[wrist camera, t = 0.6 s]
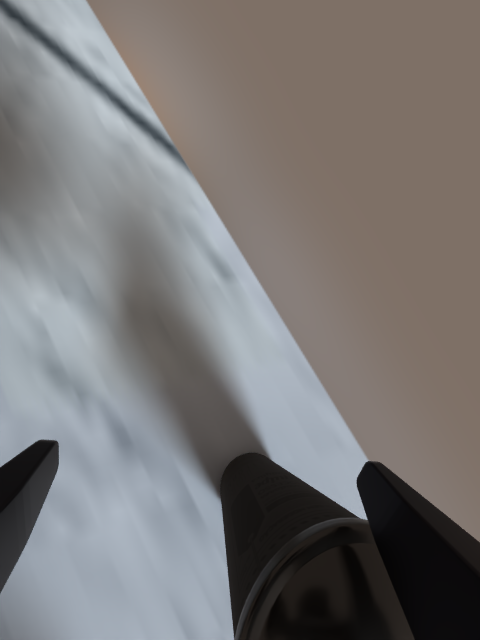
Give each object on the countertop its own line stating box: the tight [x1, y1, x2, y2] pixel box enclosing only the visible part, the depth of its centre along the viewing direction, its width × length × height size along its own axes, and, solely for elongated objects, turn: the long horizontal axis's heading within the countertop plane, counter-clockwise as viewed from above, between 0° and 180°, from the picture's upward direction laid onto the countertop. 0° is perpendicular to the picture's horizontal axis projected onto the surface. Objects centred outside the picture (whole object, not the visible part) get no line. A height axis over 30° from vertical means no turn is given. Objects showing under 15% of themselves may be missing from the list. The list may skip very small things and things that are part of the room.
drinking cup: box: [220, 453, 415, 640], centre depth 12 cm, size 8×8×20 cm
